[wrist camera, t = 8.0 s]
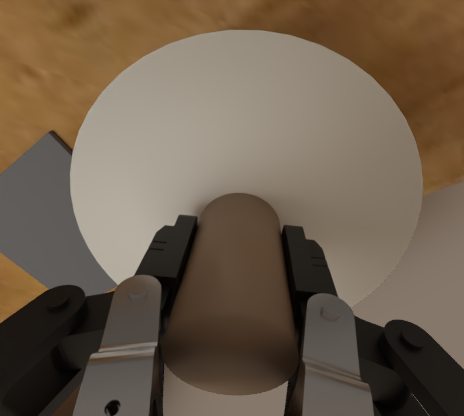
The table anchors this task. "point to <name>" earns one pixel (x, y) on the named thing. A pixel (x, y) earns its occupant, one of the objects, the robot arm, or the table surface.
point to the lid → (245, 189)
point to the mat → (46, 220)
